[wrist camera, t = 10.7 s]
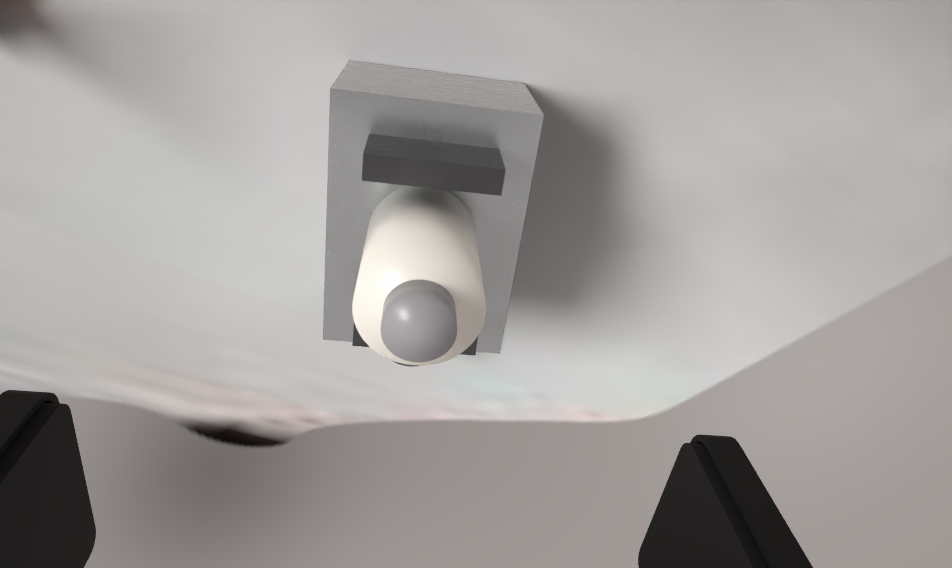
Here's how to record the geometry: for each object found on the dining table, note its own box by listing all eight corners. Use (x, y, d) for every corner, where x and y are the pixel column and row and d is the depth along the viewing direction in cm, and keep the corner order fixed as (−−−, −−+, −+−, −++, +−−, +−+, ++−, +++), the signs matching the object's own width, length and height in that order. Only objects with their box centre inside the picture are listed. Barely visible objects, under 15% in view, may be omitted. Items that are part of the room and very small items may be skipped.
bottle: (371, 179, 25) (350, 262, 19) (481, 191, 26) (498, 275, 19) (365, 277, 27) (345, 382, 21) (467, 286, 28) (478, 391, 21)
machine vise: (348, 60, 29) (319, 103, 21) (524, 83, 30) (555, 132, 22) (338, 315, 35) (312, 418, 27) (483, 327, 36) (496, 430, 28)
